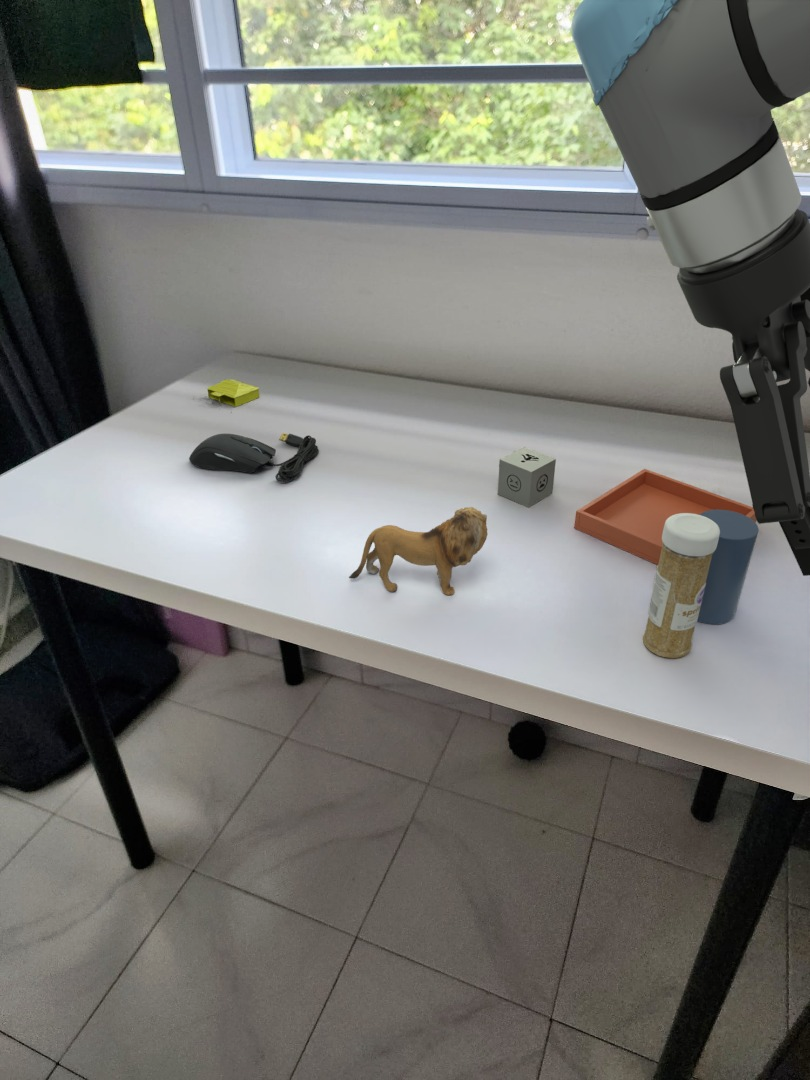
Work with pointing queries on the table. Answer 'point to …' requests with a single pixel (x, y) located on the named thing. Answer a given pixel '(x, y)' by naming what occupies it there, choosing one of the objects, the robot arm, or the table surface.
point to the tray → (647, 512)
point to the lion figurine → (427, 547)
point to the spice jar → (680, 583)
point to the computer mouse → (251, 454)
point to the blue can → (727, 565)
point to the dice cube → (526, 476)
